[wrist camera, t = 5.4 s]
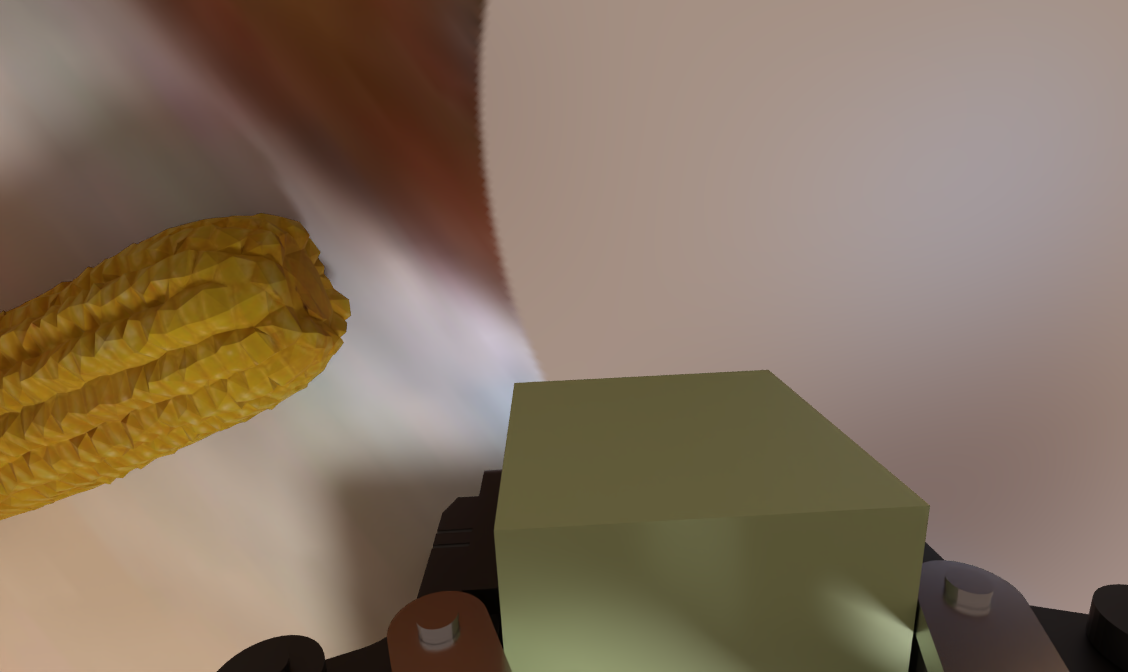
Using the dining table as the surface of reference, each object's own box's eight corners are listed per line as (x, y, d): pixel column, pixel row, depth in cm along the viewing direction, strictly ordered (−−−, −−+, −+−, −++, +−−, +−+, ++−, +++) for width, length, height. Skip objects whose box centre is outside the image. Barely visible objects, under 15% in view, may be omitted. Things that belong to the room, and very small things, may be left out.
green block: (768, 369, 12) (929, 505, 7) (757, 586, 13) (886, 831, 8) (514, 382, 11) (494, 530, 7) (528, 600, 13) (520, 857, 8)
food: (304, 180, 19) (201, 182, 13) (391, 336, 20) (335, 401, 14) (-247, 450, 20) (-565, 562, 14) (-127, 578, 21) (-371, 727, 16)
